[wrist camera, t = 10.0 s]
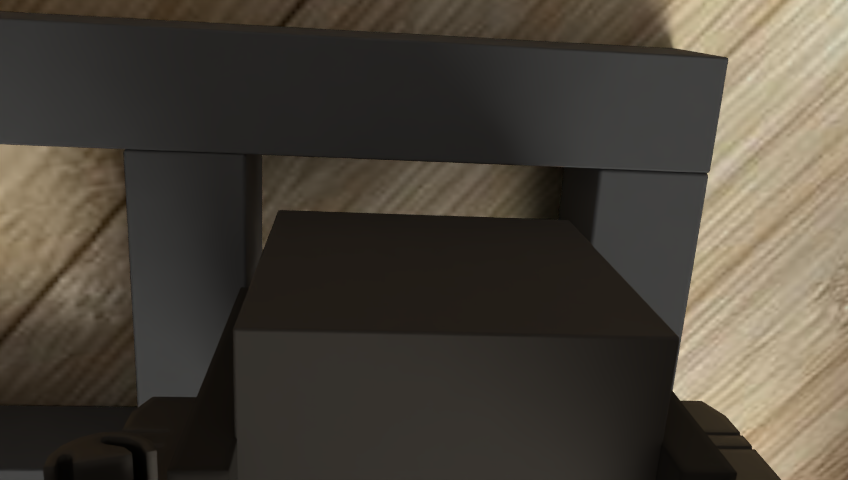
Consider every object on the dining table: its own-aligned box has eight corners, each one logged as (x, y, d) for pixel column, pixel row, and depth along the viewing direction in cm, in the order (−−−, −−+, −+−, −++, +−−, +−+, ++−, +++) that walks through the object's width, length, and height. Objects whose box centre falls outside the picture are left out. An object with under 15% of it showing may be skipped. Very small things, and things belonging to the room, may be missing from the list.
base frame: (-316, -7, 17) (-448, -7, 15) (675, 48, 20) (729, 57, 17) (-214, 485, 21) (-303, 561, 18) (611, 487, 23) (646, 556, 20)
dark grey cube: (569, 219, 16) (681, 337, 11) (540, 470, 18) (624, 687, 12) (277, 209, 16) (232, 327, 10) (277, 469, 18) (237, 695, 12)
